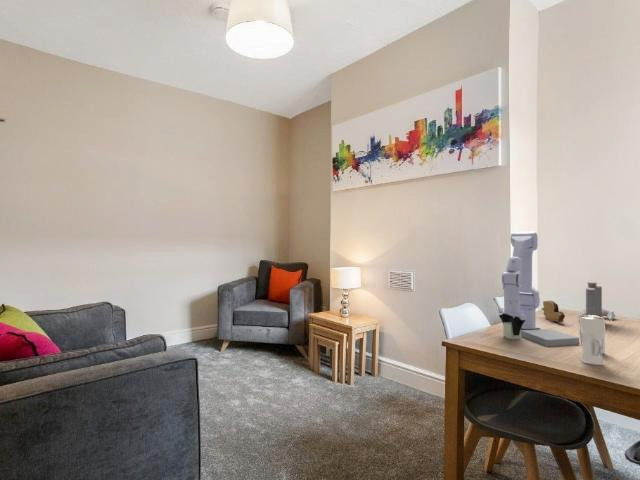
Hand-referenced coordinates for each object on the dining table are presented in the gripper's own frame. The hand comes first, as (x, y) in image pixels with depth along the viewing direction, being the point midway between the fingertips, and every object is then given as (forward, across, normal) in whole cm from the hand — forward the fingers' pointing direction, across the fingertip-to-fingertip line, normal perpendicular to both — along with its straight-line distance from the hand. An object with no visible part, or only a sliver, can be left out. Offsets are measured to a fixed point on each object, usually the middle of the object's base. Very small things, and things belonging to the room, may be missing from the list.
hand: (511, 333), depth 150 cm
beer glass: (+2, +31, +6) cm, 32 cm away
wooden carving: (+2, -22, +39) cm, 45 cm away
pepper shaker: (+2, +23, +16) cm, 28 cm away
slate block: (+2, +6, +12) cm, 14 cm away
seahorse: (+2, -21, +62) cm, 65 cm away
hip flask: (+2, -12, +51) cm, 52 cm away
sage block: (+2, 0, 0) cm, 2 cm away
